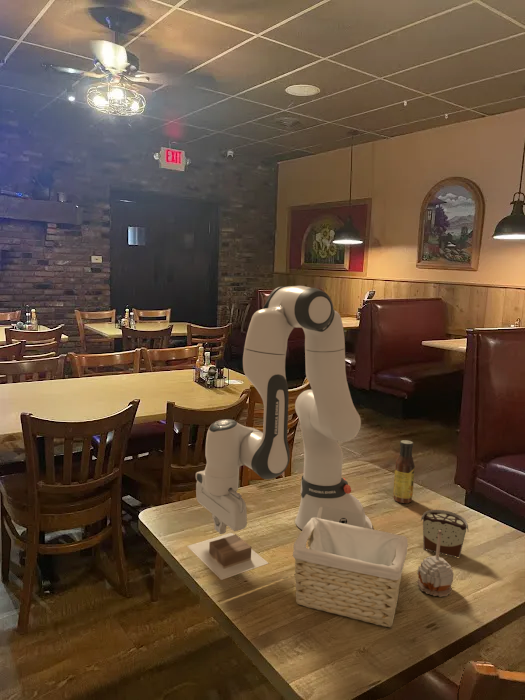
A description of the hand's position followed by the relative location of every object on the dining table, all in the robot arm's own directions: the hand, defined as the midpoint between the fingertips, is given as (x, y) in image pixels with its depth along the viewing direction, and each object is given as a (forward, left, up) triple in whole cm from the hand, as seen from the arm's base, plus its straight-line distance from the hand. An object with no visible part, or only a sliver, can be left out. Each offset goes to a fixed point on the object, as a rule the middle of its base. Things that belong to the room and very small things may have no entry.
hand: (220, 531), depth 144 cm
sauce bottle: (-57, -36, -5) cm, 67 cm away
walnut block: (-1, +1, -3) cm, 3 cm away
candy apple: (-53, +13, -5) cm, 55 cm away
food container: (-61, -6, -5) cm, 61 cm away
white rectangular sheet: (-2, +3, -5) cm, 6 cm away
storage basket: (-31, +19, -6) cm, 37 cm away
